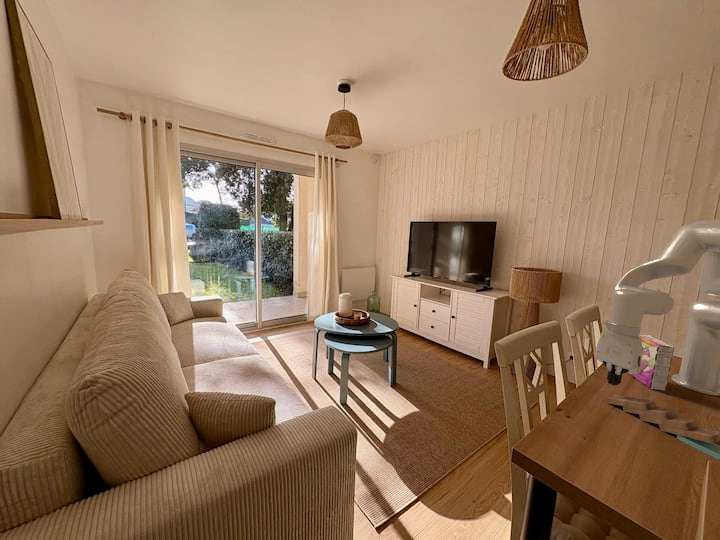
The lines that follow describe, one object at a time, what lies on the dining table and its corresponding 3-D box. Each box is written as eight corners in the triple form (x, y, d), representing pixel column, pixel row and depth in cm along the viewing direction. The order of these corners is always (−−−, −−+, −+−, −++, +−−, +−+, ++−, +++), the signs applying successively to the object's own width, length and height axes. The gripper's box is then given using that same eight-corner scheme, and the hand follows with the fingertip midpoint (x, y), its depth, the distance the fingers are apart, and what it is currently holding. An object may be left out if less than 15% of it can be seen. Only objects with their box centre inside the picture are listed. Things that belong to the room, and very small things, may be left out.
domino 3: (648, 410, 86) (695, 419, 77) (650, 416, 86) (697, 426, 76) (638, 414, 84) (685, 423, 75) (640, 420, 84) (687, 430, 75)
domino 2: (631, 402, 90) (674, 409, 81) (633, 408, 89) (676, 415, 80) (622, 405, 88) (665, 413, 79) (623, 411, 88) (666, 419, 79)
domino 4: (668, 420, 82) (721, 432, 72) (670, 426, 81) (723, 439, 72) (658, 424, 80) (711, 436, 71) (660, 430, 80) (713, 443, 70)
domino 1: (615, 395, 94) (654, 400, 85) (616, 400, 93) (656, 406, 84) (606, 397, 92) (645, 404, 83) (607, 403, 92) (646, 410, 82)
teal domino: (687, 430, 78) (746, 458, 69) (686, 435, 78) (744, 464, 69) (677, 434, 77) (735, 463, 67) (676, 439, 77) (734, 469, 68)
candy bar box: (627, 373, 111) (634, 333, 109) (642, 375, 110) (650, 334, 108) (649, 389, 100) (658, 345, 98) (666, 391, 99) (675, 346, 97)
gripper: (588, 322, 94) (580, 374, 97) (647, 339, 81) (635, 399, 84) (602, 320, 97) (594, 370, 100) (661, 336, 84) (649, 394, 86)
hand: (613, 383), depth 92 cm, fingers closed
